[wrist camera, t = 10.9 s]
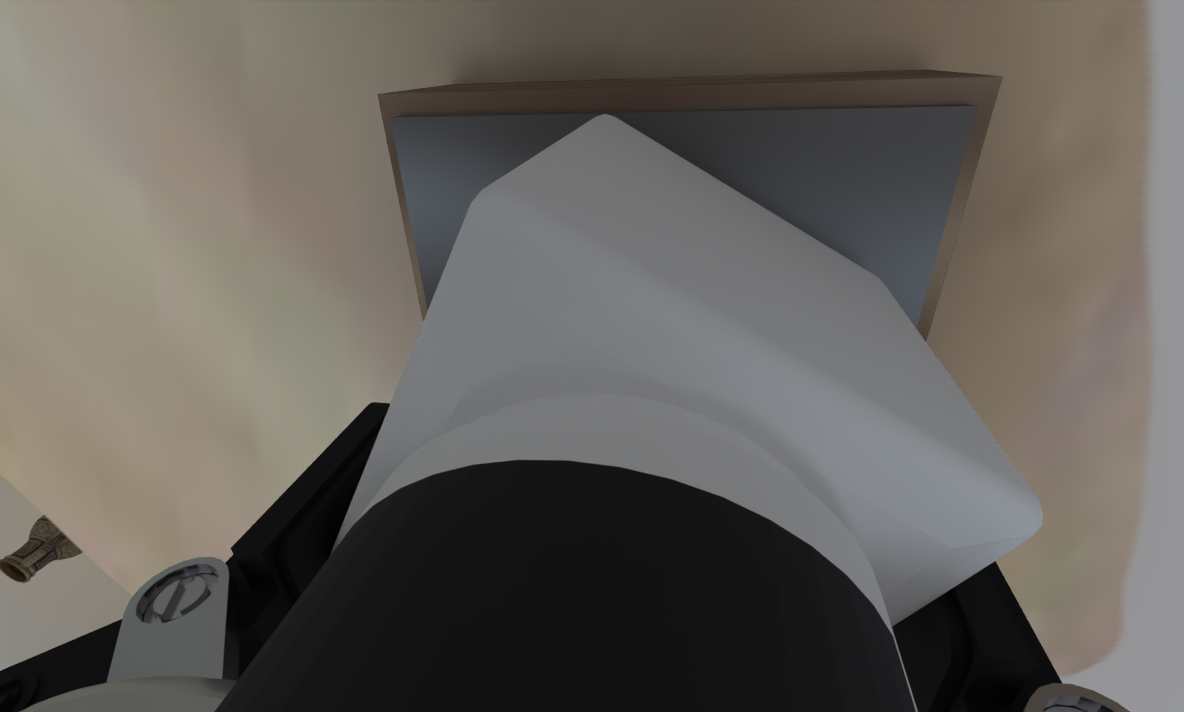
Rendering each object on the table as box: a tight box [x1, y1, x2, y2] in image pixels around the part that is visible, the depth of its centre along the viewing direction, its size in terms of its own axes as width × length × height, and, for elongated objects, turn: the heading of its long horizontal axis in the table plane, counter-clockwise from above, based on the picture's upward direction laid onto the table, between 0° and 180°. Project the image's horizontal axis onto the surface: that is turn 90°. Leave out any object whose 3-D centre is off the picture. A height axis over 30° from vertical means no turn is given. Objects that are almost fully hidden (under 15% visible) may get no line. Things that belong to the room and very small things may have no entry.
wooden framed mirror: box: [378, 70, 1002, 342], centre depth 18 cm, size 14×14×5 cm
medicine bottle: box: [215, 114, 1043, 712], centre depth 8 cm, size 7×7×12 cm
